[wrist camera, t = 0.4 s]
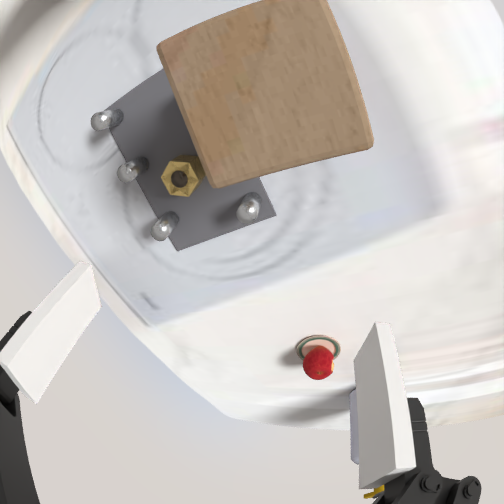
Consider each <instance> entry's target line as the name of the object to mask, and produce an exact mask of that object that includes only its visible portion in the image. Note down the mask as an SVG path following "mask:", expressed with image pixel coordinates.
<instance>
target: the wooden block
mask: <svg viewBox="0 0 504 504" xmlns="http://www.w3.org/2000/svg"><path fill="white" fill-rule="evenodd" d="M157 52H158V55H159V58H160V60H161V63H162V65H163V68H164V70H165V73H166V76H167V78H168V81H169V83H170V86H171V88H172V91H173V93H174V96H175V99H176V101H177V104H178V106H179V109H180V111H181V114H182V116H183V119H184V121H185V124H186V126H187V129H188V131H189V134H190V136H191V139H192V141H193V144H194V146H195V149H196V151H197V154H198V156H199V159H200V161H201V164H202V166H203V169H204V171H205V173H206V176H207V178H208V181H209V183H210V185H211V186H212V188H219V189H220V188H223V187H227V186H230V185H233V184H236V183H240V182H243V181H246V180H250V179H253V178H257V177H260V176H264V175H267V174H271V173H275V172H278V171H282V170H286V169H289V168H293V167H297V166H301V165H305V164H309V163H313V162H317V161H321V160H325V159H329V158H333V157H337V156H342V155H346V154H350V153H355V152H359V151H364V150H368V149H369V148H371V147H372V146H373V142H374V138H373V134H372V130H371V126H370V122H369V118H368V114H367V111H366V107H365V103H364V100H363V97H362V93H361V90H360V87H359V83H358V80H357V77H356V74H355V71H354V68H353V65H352V62H351V59H350V57H349V54H348V51H347V48H346V46H345V43H344V40H343V38H342V35H341V33H340V30H339V28H338V25H337V23H336V20H335V18H334V16H333V13H332V11H331V9H330V7H329V4H328V2H327V0H262V1H259V2H255V3H252V4H249V5H246V6H243V7H240V8H237V9H235V10H232V11H229V12H226V13H224V14H221V15H219V16H216V17H214V18H211V19H209V20H206V21H204V22H202V23H199V24H197V25H195V26H193V27H190V28H188V29H186V30H184V31H182V32H180V33H178V34H176V35H174V36H172V37H170V38H168V39H166V40H164V41H162V42H160V43H159V44H158V45H157Z"/></svg>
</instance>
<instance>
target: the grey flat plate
mask: <svg viewBox="0 0 504 504" xmlns="http://www.w3.org/2000/svg"><path fill="white" fill-rule="evenodd" d="M112 109H120V110H121V111H122V112H123V115H124V119H123V121H122V123H121V124H119V125H116V126H112V127H109V129H110V131H111V133H112V135H113V137H114V139H115V141H116V142H117V144H118V146H119V148H120V150H121V152H122V154H123V156H124V158H125V160H126V161H127V162H129V161H131V160H133V159H135V158H137V157H140V156H143V157H145V158H146V159H147V160H148V162H149V168H148V170H147V171H146V172H144V173H143V174H141V175H140V176H138V177H136V180H137V182H138V184H139V185H140V187H141V189H142V191H143V192H144V194H145V196H146V198H147V200H148V201H149V203H150V205H151V207H152V208H153V210H154V212H155V214H156V215H157V217H158V219H160V218H161V217H162V216H163V215H164V214H165V213H166V212H168V211H173V212H175V213H176V214H177V215H178V216H179V223H178V225H177V226H176V227H175V228H174V229H173V231H172V232H171V233H170V234H169V235H168V236H169V237H170V239H171V241H172V242H173V244H174V246H175V247H176V249H177V251H180V250H182V249H185V248H188V247H190V246H193V245H196V244H199V243H201V242H204V241H207V240H209V239H212V238H215V237H218V236H220V235H223V234H226V233H229V232H231V231H234V230H237V229H240V228H243V227H245V226H248V225H251V224H254V223H257V222H260V221H262V220H265V219H268V218H271V217H274V216H276V213H275V211H274V208H273V206H272V204H271V202H270V200H269V198H268V195H267V193H266V191H265V189H264V187H263V185H262V182H261V180H260V178H259V177H257V178H253V179H250V180H246V181H243V182H240V183H236V184H233V185H230V186H227V187H223V188H220V189H219V188H212V186H211V185H210V183H209V181H208V178H207V176H205V177H204V179H203V181H202V182H201V184H200V185H199V187H198V188H197V189H196V190H195V191H194V192H193V193H192V194H191V195H190V196H189V197H186V196H177V195H170V193H169V192H168V190H167V188H166V186H165V184H164V183H163V181H162V179H161V176H162V174H163V173H164V171H165V169H166V167H167V165H168V164H169V162H170V161H171V160H173V159H174V158H176V157H178V156H179V155H190V156H198V154H197V151H196V149H195V146H194V144H193V141H192V139H191V136H190V134H189V131H188V129H187V126H186V124H185V121H184V119H183V116H182V114H181V111H180V109H179V106H178V104H177V101H176V99H175V96H174V93H173V91H172V88H171V86H170V83H169V81H168V78H167V76H166V73H165V70H164V69H162V70H161V71H159V72H157V73H156V74H154V75H153V76H151V77H150V78H148V79H147V80H145V81H144V82H142V83H141V84H139V85H138V86H137V87H135V88H134V89H132V90H131V91H130V92H128V93H127V94H125V95H124V96H123V97H121V98H120V99H119V100H117V101H116V102H115V103H114V104H112V105H111V106H110V107H108V108H107V109H106V110H105V111H107V110H112ZM250 192H255V193H257V194H259V195H260V197H261V199H262V204H261V207H260V210H259V212H258V215H257V218H256V220H255V221H254V222H253V223H251V224H244V223H242V222H240V221H239V220H238V218H237V210H238V208H239V206H240V204H241V202H242V200H243V198H244V197H245V195H246V194H247V193H250Z"/></svg>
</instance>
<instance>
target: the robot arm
mask: <svg viewBox="0 0 504 504" xmlns="http://www.w3.org/2000/svg"><path fill="white" fill-rule="evenodd" d="M101 307H102V305H101V301H100V298H99V294H98V290H97V286H96V282H95V277H94V273H93V269H92V264H89V263H85V262H81V261H79V262H78V263H77V264H76V265H75V266H74V267H73V269H71V271H70V272H69V273H68V274H67V275H66V276H65V277H64V278H63V279H62V280H61V281H60V282H59V283H58V284H57V285H56V286H55V287H54V288H53V290H52V291H51V292H50V293H49V294H48V295H47V296H46V297H45V299H44V300H43V301H42V302H41V303H40V304H39V305H38V306H37V307H36V309H35V310H34V311H33V312H31V311H28V312H27V313H25V314H24V315H22V316H21V317H20V318H19V319H18V320H17V321H16V323H15V324H14V326H12V327H11V329H10V330H9V332H7V334H6V335H5V336H4V337H3V338H2V340H1V341H0V504H40V502H39V499H38V496H37V492H36V489H35V485H34V481H33V477H32V474H31V469H30V465H29V461H28V456H27V451H26V446H25V441H24V434H23V427H22V419H21V411H20V401H19V396H18V394H17V392H18V391H19V390H20V391H21V392H22V394H23V395H24V396H25V397H26V398H28V399H30V400H31V401H32V402H34V403H36V404H37V403H38V401H39V400H40V398H41V396H42V395H43V393H44V391H45V390H46V388H47V386H48V385H49V383H50V382H51V380H52V378H53V377H54V375H55V374H56V372H57V371H58V369H59V368H60V366H61V364H62V363H63V361H64V360H65V358H66V357H67V355H68V354H69V352H70V351H71V349H72V348H73V347H74V345H75V344H76V342H77V341H78V339H79V338H80V336H81V335H82V333H83V332H84V331H85V329H86V328H87V326H88V325H89V324H90V322H91V321H92V319H93V318H94V317H95V315H96V314H97V313H98V311H99V310H100V309H101ZM354 370H355V382H356V396H357V412H358V435H359V489H372V488H378V487H380V486H382V485H384V491H382V492H379V493H377V494H375V495H374V496H373V497H372V498H377V497H378V498H377V499H376V500H375V501H374V502H373V504H478V502H479V499H480V494H481V484H480V482H479V480H478V479H477V478H476V477H474V476H468V477H466V478H464V479H462V480H455V479H449V478H444V477H442V476H441V474H439V472H438V471H437V470H435V469H434V467H433V464H432V458H431V450H430V443H429V437H428V432H427V424H426V422H425V421H426V418H425V413H424V408H423V406H422V405H421V403H420V401H419V400H418V398H407V396H406V390H405V385H404V380H403V375H402V370H401V366H400V361H399V356H398V352H397V348H396V343H395V339H394V335H393V331H392V327H391V324H388V323H381V322H375V323H374V325H373V327H372V329H371V331H370V333H369V334H368V336H367V338H366V340H365V342H364V343H363V345H362V347H361V349H360V350H359V352H358V354H357V356H356V357H355V359H354Z"/></svg>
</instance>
